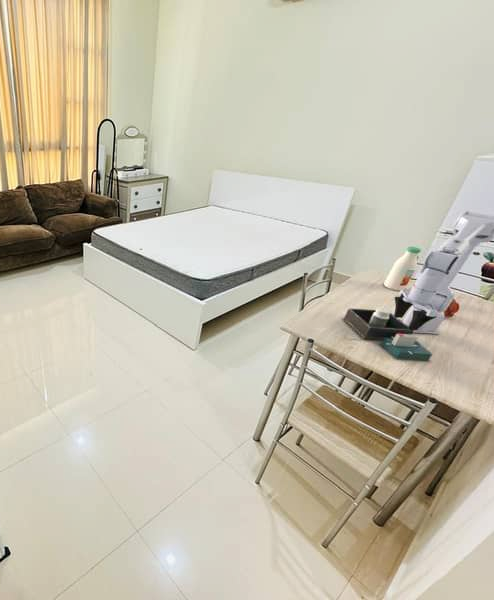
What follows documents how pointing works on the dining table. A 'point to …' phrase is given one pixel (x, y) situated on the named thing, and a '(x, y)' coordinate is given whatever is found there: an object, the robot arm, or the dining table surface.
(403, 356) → the teal flat box
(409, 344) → the white rectangular block
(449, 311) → the dragon fruit
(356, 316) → the dark open box
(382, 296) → the dining table surface
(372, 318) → the pill bottle
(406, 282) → the milk bottle
